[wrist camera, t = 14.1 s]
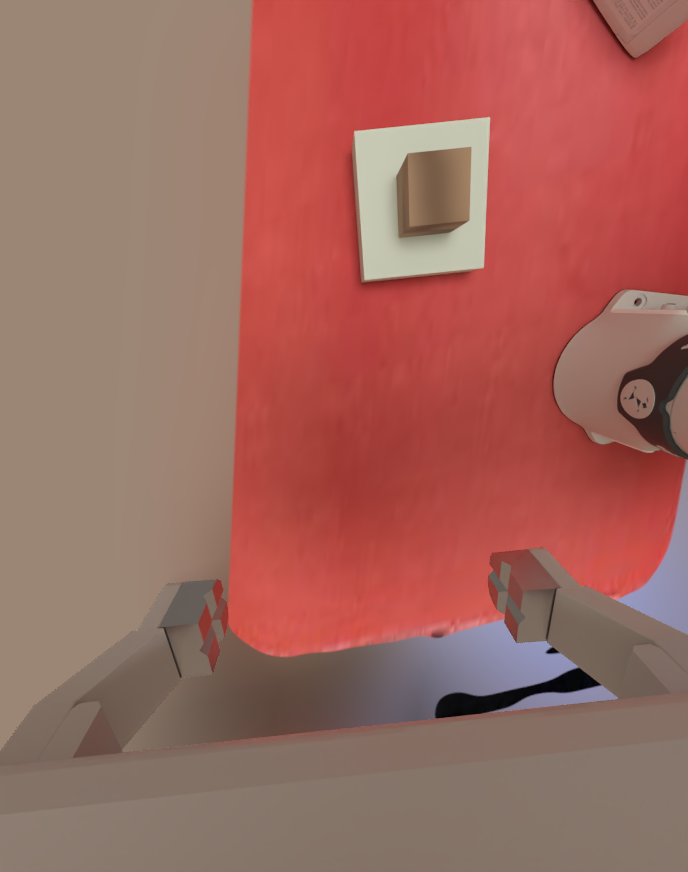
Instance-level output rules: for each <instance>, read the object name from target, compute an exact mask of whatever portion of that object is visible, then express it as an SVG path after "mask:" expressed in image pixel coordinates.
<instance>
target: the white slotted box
mask: <svg viewBox="0 0 688 872" xmlns="http://www.w3.org/2000/svg"><path fill="white" fill-rule="evenodd" d="M593 1H594V3H595V4H596V6H597V8H598V9H599V11H600V12H601V14H602V15H603V17H604V18H605V20H606V21H607V23H608V24H609V26H610V27H611V29H612V30H613V32H614V33H615V35H616V37H617V38H618V39H619V41H620V42H621V44H622V45H623V46H624V48H625V49H626V50H627V51H628V53H629V54H630V55H631V56H633V57H635V58H637V57H639V56H640V55H642V54H644V53H645V52H647V51H649V50H650V49H651V48H652V47H654V46H655V45H656V44H657V43H659V42H660V41H661V40H663V39H664V38H665V37H666V36H668V35H669V34H670V33H672V32H673V31H674V30H675V29H677V28H678V27H679V26H680V25H682V24H683V23H684V22H686V21H687V20H688V0H593Z"/></svg>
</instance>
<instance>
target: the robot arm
mask: <svg viewBox="0 0 688 872" xmlns="http://www.w3.org/2000/svg"><path fill="white" fill-rule="evenodd" d="M635 300H637V302H636V304H635V305H634V302H635ZM554 395H555V399H556V402H557V404H558V406H559V408H560V410H561V411H562V412H563V414H564V415H565V416H566V417H567V418H569V419H570V420H571V421H573V422H575V423H577V424H578V425H580V426H581V427H583V428H584V430H585V432H586V433H587V435H588V437H589V438H590V439H591V440H592V441H593V442H595V443H598V444H601V445H603V444H608V443H611V442H618V443H620V444H623V445H626V446H628V447H631V448H634V449H637V450H640V451H642V452H646V453H653V452H654V451H658V450H663V451H665V452H667V453H669V454H672V455H674V456H678V457H680V458H685V459H688V296H683V295H675V294H666V293H657V292H648V291H640V290H630V289H625V290H622V291H620V292H618V293H617V294H616V295H615V296H614V297H613V299H612V300H611V301H610V302H609V304H608V305H607V307H606V308H605V309H604V311H603V312H602V313H601V314H600V315H599V316H598V317H597V318H595V319H594V320H593V321H591V322H590V323H589V324H587V325H586V326H585V327H583V328H582V329H581V330H580V331H579V332H578V333H577V334H576V335H575V336H574V337H573V338H572V339H571V341H570V342H569V343H568V345H567V346H566V348H565V349H564V351H563V353H562V355H561V356H560V359H559V361H558V364H557V367H556V370H555V375H554ZM490 565H491V567H492V568H493V571H492V572H491V573H490V575H489V576H488V587H489V593H490V596H491V599H492V601H493V603H494V605H495V607H496V609H497V610H499V611H500V612H502V613H503V614H505V620H504V623H505V624H506V626H507V628H508V629H509V631H510V633H511V635H512V636H513V638H514V640H515V641H516V643H521V642H522V643H523V642H536V641H547V643H549V644H550V645H551V646H552V647H554V648H555V649H556V650H558V651H559V652H560V653H562V654H563V655H564V656H565V657H567V658H568V659H569V660H571V661H572V662H573V663H575V664H576V665H577V666H578V667H579V668H581V669H582V670H583V671H585V672H586V673H587V674H588V675H590V676H591V677H592V678H594V679H595V680H596V681H597V682H599V683H600V684H601V685H603V686H604V687H605V688H607V689H608V690H609V691H610V692H612V693H613V694H614V695H616V696H617V697H618V699H616V700H607V701H597V702H588V703H579V704H569V705H560V706H550V707H541V708H532V709H523V710H513V711H505V712H495V713H486V714H477V715H468V716H458V717H449V718H440V719H431V720H421V721H413V722H403V723H393V724H384V725H375V726H365V727H356V728H347V729H338V730H328V731H319V732H309V733H300V734H291V735H281V736H273V737H263V738H255V739H254V738H253V739H245V740H236V741H226V742H216V743H207V744H198V745H188V746H180V747H170V748H161V749H151V750H142V751H133V752H123V751H122V749H123V748H124V747H125V746H126V744H127V743H128V742H129V741H130V740H131V738H132V737H133V736H134V735H135V734H136V733H137V732H138V730H139V729H140V728H141V727H142V725H143V724H144V723H145V722H146V721H147V720H148V719H149V717H150V716H151V715H152V714H153V713H154V712H155V710H156V709H157V708H158V707H159V706H160V704H161V703H162V702H163V701H164V700H165V699H166V697H167V696H168V695H169V694H170V693H171V692H172V690H173V689H174V688H175V687H176V686H177V685H178V683H179V682H180V681H181V678H187V677H195V676H202V675H210V674H213V672H214V669H215V665H216V662H217V659H218V656H219V653H220V649H219V645H218V643H219V642H220V641H221V639H223V638H224V636H225V633H226V630H227V625H228V607H227V602H226V601H225V600H224V599H223V598H221V595H222V592H223V587H222V584H221V581H220V580H218V579H216V580H202V581H189V582H179V583H168V584H166V585H165V586H164V587H163V588H162V590H161V591H160V593H159V595H158V596H157V598H156V600H155V602H154V603H153V605H152V607H151V608H150V610H149V612H148V613H147V615H146V617H145V619H144V620H143V622H142V624H141V625H140V627H139V629H138V630H137V631H131V632H130V633H129V634H128V635H126V636H125V637H124V638H122V639H121V640H120V641H118V642H117V643H116V644H114V645H113V646H112V647H111V648H109V649H108V650H106V651H105V652H104V653H103V654H101V655H100V656H99V657H97V658H96V659H95V660H93V661H92V662H91V663H90V664H88V665H87V666H86V667H84V668H83V669H81V670H80V671H79V672H78V673H76V674H75V675H74V676H72V677H71V678H70V679H68V680H67V681H66V682H64V683H63V684H62V685H60V686H59V687H58V688H57V689H55V690H54V691H53V692H51V693H50V694H49V695H47V696H46V697H45V698H44V699H42V700H41V701H39V702H38V703H37V704H36V705H34V706H33V707H32V709H31V710H30V711H29V713H28V714H27V716H26V717H25V718H24V720H23V721H22V722H21V724H20V725H19V726H18V728H17V729H16V730H15V732H14V733H13V735H12V736H11V737H10V739H9V740H8V741H7V743H6V744H5V745H4V747H3V748H2V749H1V751H0V872H688V635H686V634H685V633H682V632H680V631H678V630H676V629H674V628H672V627H670V626H668V625H666V624H664V623H662V622H660V621H657V620H655V619H654V618H651V617H649V616H647V615H645V614H643V613H641V612H639V611H637V610H635V609H633V608H631V607H629V606H627V605H625V604H622V603H620V602H618V601H616V600H614V599H612V598H610V597H608V596H606V595H604V594H602V593H600V592H598V591H596V590H594V589H591V588H589V587H587V586H580V585H579V584H578V583H577V582H576V581H575V580H574V579H573V577H572V576H571V575H570V574H569V573H568V572H567V571H566V570H565V569H564V568H563V567H562V566H561V565H560V564H559V563H558V561H557V560H556V559H555V558H554V557H553V556H552V555H551V554H550V553H549V552H548V551H547V550H546V549H544V548H542V547H540V548H531V549H525V550H516V551H506V552H496V553H492V554H491V556H490Z"/></svg>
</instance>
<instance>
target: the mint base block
mask: <svg viewBox="0 0 688 872" xmlns="http://www.w3.org/2000/svg"><path fill="white" fill-rule="evenodd" d="M489 132H490V117H487V118H478V119H468V120H458V121H449V122H439V123H430V124H420V125H410V126H401V127H391V128H381V129H372V130H362V131H354V137H353V144H352V163H353V176H354V190H355V204H356V218H357V232H358V246H359V259H360V273H361V283H364V282H374V281H383V280H393V279H403V278H412V277H422V276H432V275H441V274H451V273H461V272H469V271H473V270H477V269H481V268H484V250H485V227H486V203H487V179H488V155H489ZM464 147H472V148H471V184H470V220H469V221H468V222H466V223H465V224H463V225H462V226H460V227H458V228H457V229H455V230H453V231H452V232H450V233H442V234H432V235H422V236H413V237H403V238H399V237H398V209H397V181H396V176H397V174H398V172H399V170H400V168H401V166H402V164H403V162H404V160H405V158H406V156H407V154H408V153H416V152H425V151H435V150H445V149H454V148H464Z"/></svg>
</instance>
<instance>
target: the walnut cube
mask: <svg viewBox="0 0 688 872" xmlns="http://www.w3.org/2000/svg"><path fill="white" fill-rule="evenodd" d="M471 148H472V147H464V148H454V149H445V150H435V151H425V152H416V153H408V154H407V156H406V158H405V160H404V162H403V164H402V166H401V168H400V170H399V172H398V174H397V176H396V181H397V209H398V237H399V238H403V237H413V236H422V235H432V234H442V233H450V232H452V231H453V230H455V229H457V228H458V227H460V226H462V225H463V224H465V223H466V222H468V221H469V220H470V184H471Z"/></svg>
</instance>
